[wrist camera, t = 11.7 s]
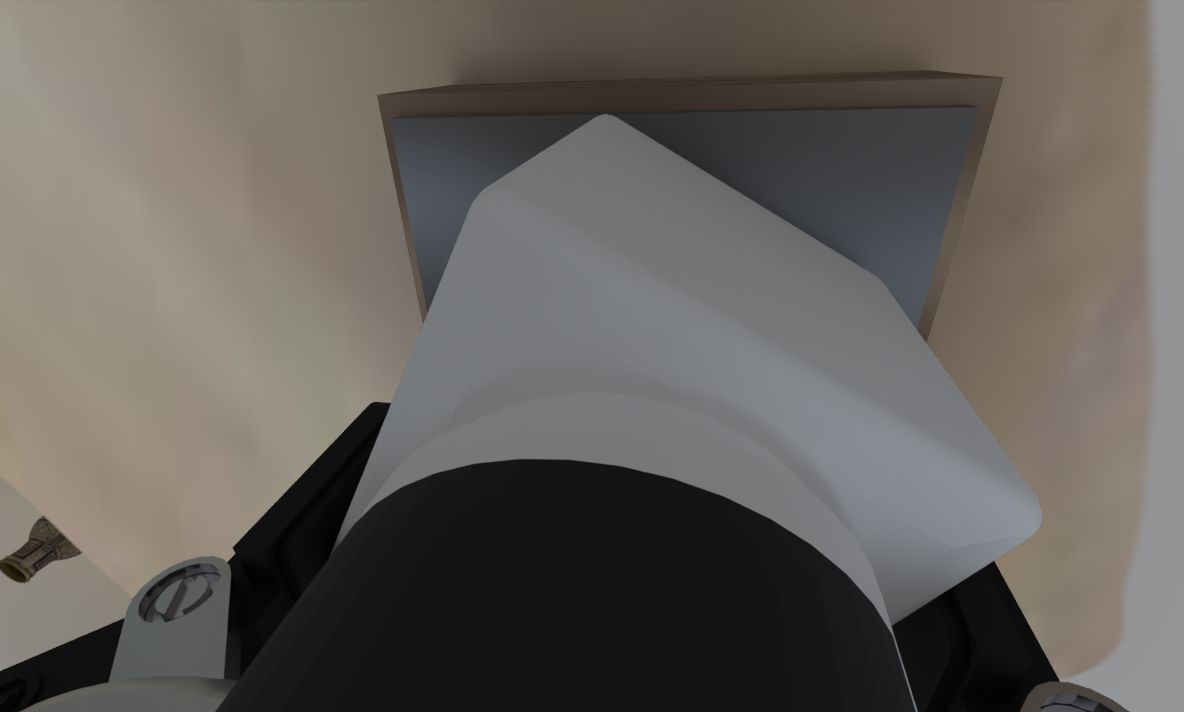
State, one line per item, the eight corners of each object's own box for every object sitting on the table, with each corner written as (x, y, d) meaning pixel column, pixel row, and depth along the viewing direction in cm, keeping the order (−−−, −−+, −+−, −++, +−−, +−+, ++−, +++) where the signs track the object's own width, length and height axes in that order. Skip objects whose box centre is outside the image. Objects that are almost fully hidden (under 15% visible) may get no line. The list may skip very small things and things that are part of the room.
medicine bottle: (477, 357, 15) (-40, 1053, 5) (601, 105, 11) (-559, 763, 1) (701, 480, 16) (682, 1331, 5) (888, 279, 12) (2011, 1789, 2)
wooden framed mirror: (450, 85, 18) (366, 96, 13) (928, 70, 15) (1014, 78, 11) (500, 437, 24) (455, 520, 20) (837, 468, 22) (867, 571, 17)
